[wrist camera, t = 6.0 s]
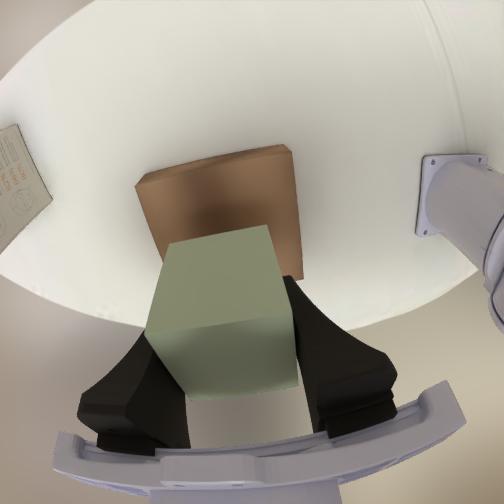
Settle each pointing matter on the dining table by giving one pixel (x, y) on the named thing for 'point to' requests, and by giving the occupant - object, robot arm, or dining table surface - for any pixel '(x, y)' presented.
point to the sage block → (224, 316)
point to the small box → (18, 187)
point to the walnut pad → (227, 201)
